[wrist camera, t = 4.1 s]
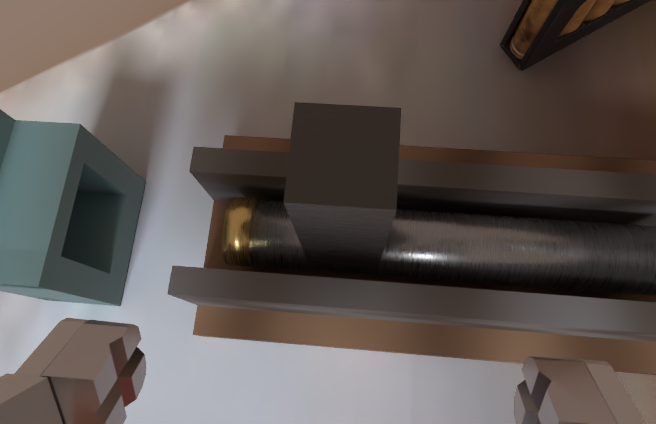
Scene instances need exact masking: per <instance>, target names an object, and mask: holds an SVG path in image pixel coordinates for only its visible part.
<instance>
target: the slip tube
mask: <svg viewBox="0 0 656 424" xmlns="http://www.w3.org/2000/svg"><path fill="white" fill-rule="evenodd" d="M400 119H401V108H389V107H371V106H352V105H333V104H314V103H296V102H295V106H294V115H293V124H292V132H291V141H290V150H289V158H288V167H287V176H286V184H285V193H284V202H283V201H268V200H261V199H257V198H242V197H232V198H231V199H230V201H229V203H228V205H227V208H226V211H225V216H224V221H223V229H222V251H223V257H224V261H225V263H226V264H227V265H230V266H243V267H255V266H260V267H273V268H287V269H300V270H313V271H326V272H340V273H353V274H366V275H379V276H393V277H406V278H419V279H432V280H446V281H459V282H472V283H485V284H499V285H512V286H525V287H539V288H552V289H565V290H578V291H592V292H605V293H618V294H631V295H645V296H656V226H644V225H629V224H614V223H599V222H584V221H569V220H554V219H539V218H524V217H509V216H494V215H478V214H463V213H448V212H433V211H418V210H403V209H397V188H398V165H399V142H400Z"/></svg>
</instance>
